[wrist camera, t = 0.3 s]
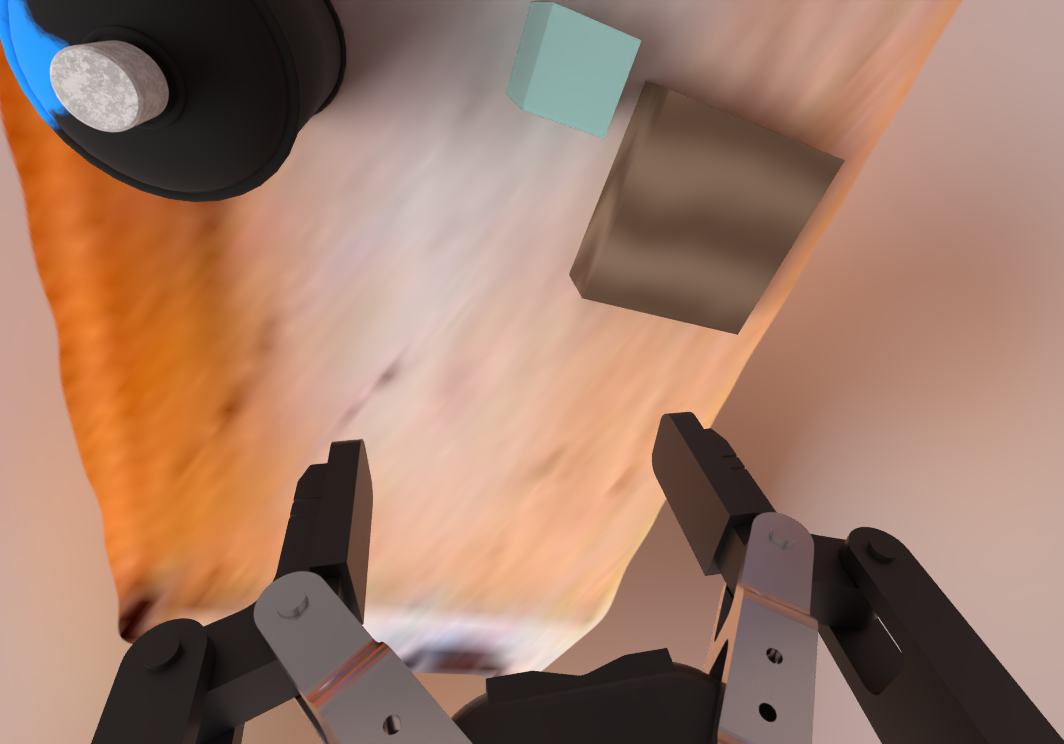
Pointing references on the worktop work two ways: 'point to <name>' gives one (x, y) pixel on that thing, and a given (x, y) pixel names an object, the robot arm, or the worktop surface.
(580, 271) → the stacking base
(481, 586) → the worktop surface
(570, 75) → the teal block
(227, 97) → the aerosol can
